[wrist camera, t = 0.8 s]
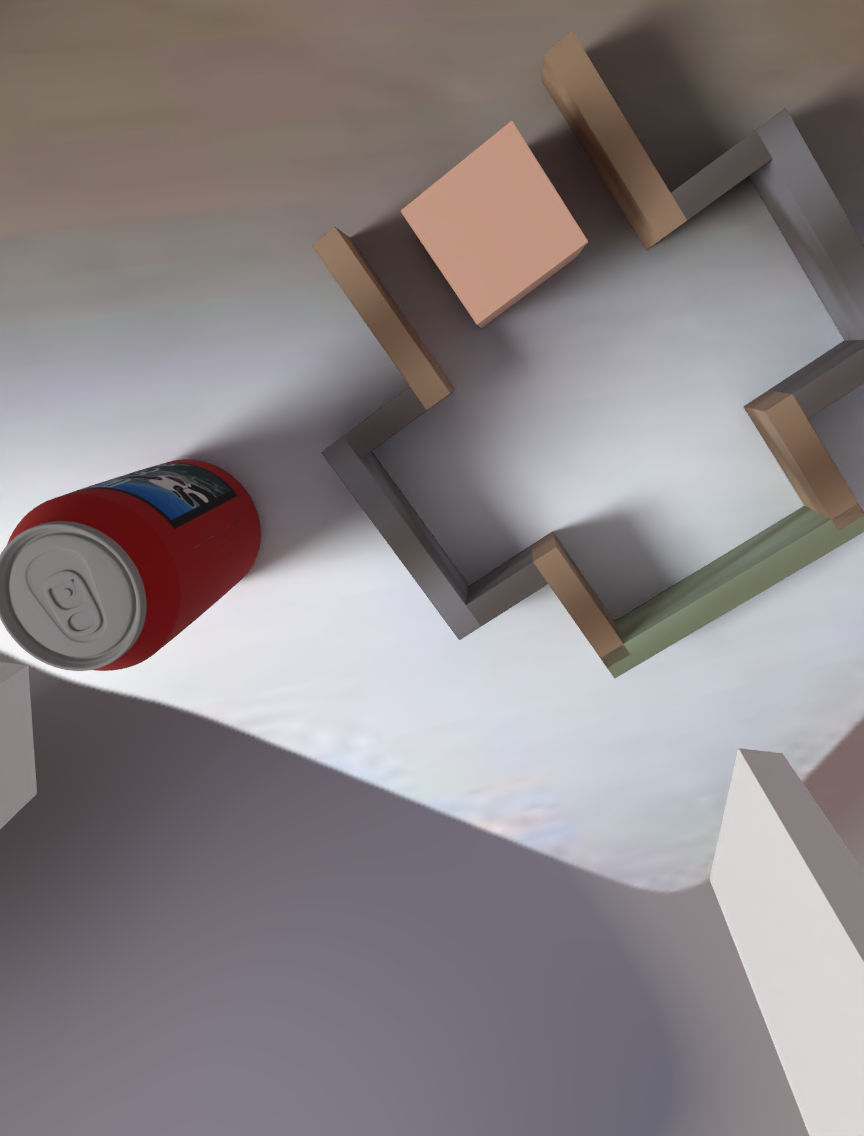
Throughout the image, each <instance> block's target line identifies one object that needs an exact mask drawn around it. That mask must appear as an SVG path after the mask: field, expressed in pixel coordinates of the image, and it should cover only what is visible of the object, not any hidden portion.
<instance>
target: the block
mask: <svg viewBox="0 0 864 1136" xmlns="http://www.w3.org/2000/svg"><path fill="white" fill-rule="evenodd" d="M401 213H402V214H403V216H404V217H405V219H406V220H407V222H408V223H409V225H410V226H411V228H412V229H413V231H414V232H415V234H416V235H417V236H418V238H419V239H420V241H421V242H422V244H423V245H424V247H425V248H426V250H427V251H428V253H429V254H430V256H431V257H432V259H433V260H434V262H435V263H436V265H437V266H438V268H439V269H440V271H441V272H442V274H443V275H444V277H445V278H446V280H447V281H448V283H449V284H450V286H451V287H452V288H453V290H454V291H455V293H456V294H457V296H458V297H459V299H460V300H461V302H462V303H463V305H464V306H465V308H466V309H467V311H468V312H469V314H470V315H471V317H472V318H473V320H474V321H475V323H476V324H477V325H478V326H479V327H480V328H483V327H484V326H485V325H487V324H488V323H489V322H491V321H492V320H493V319H495V318H496V317H497V316H499V315H500V314H501V313H503V312H504V311H505V310H507V309H508V308H509V307H511V306H512V305H513V304H515V303H516V302H517V301H519V300H520V299H521V298H523V297H524V296H525V295H527V294H528V293H530V292H531V291H532V290H534V289H535V288H536V287H538V286H539V285H540V284H542V283H543V282H544V281H546V280H547V279H548V278H550V277H551V276H552V275H554V274H555V273H556V272H558V271H559V270H560V269H562V268H563V267H564V266H566V265H567V264H568V263H570V262H571V261H572V260H574V259H575V258H577V256H578V255H579V254H580V252H581V251H582V249H583V248H584V247H585V245H586V244H587V242H588V240H587V239H586V237H585V236H584V234H583V232H582V231H581V229H580V228H579V226H578V225H577V223H576V221H575V220H574V218H573V217H572V215H571V213H570V212H569V210H568V209H567V207H566V206H565V204H564V202H563V201H562V199H561V198H560V196H559V194H558V193H557V191H556V190H555V188H554V187H553V185H552V183H551V182H550V180H549V179H548V177H547V176H546V174H545V172H544V171H543V169H542V168H541V166H540V164H539V163H538V161H537V160H536V158H535V157H534V155H533V153H532V152H531V150H530V149H529V147H528V145H527V144H526V142H525V141H524V139H523V138H522V136H521V134H520V133H519V131H518V130H517V128H516V126H515V125H514V123H513V122H512V121H511V122H509V123H508V124H507V125H506V126H505V127H503V128H502V129H501V130H500V131H498V132H497V133H496V134H495V135H493V136H492V137H491V138H490V139H488V140H487V141H486V142H485V143H484V144H482V145H481V146H480V147H479V148H477V149H476V150H475V151H474V152H472V153H471V154H470V155H469V156H468V157H466V158H465V159H464V160H463V161H461V162H460V163H459V164H458V165H456V166H455V167H454V168H453V169H452V170H450V171H449V172H448V173H447V174H445V175H444V176H443V177H442V178H440V179H439V180H438V181H437V182H435V183H434V184H433V185H432V186H431V187H429V188H428V189H427V190H426V191H424V192H423V193H422V194H421V195H419V196H418V197H417V198H416V199H415V200H413V201H412V202H411V203H410V204H408V205H407V206H406V207H405V208H403V209H402V210H401Z"/></svg>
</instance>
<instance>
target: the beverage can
mask: <svg viewBox="0 0 864 1136" xmlns="http://www.w3.org/2000/svg"><path fill="white" fill-rule="evenodd" d="M260 537H261V531H260V522H259V517H258V514H257V511H256V508H255V506H254V503H253V501H252V499H251V498H250V496H249V494H248V493H247V492H246V490H245V489H244V488H243V486H242V485H241V484H240V483H239V482H238V481H237V480H236V479H235V478H234V477H232V476H231V475H230V474H228V473H227V472H225V471H224V470H222V469H220V468H218V467H216V466H214V465H212V464H209V463H206V462H202V461H197V460H176V461H171V462H167V463H164V464H160V465H157V466H153V467H150V468H146V469H143V470H139V471H136V472H133V473H130V474H127V475H124V476H120V477H117V478H114V479H111V480H108V481H105V482H101V483H98V484H95V485H92V486H89V487H86V488H83V489H80V490H77V491H74V492H71V493H69V494H66V495H63V496H60V497H57V498H54V499H51V500H49V501H46V502H44V503H42V504H40V505H39V506H37V507H36V508H34V509H33V510H32V511H30V512H29V513H28V514H27V515H26V516H25V517H24V518H23V519H22V520H21V521H20V523H19V524H18V525H17V527H16V528H15V530H14V531H13V533H12V535H11V537H10V539H9V541H8V544H7V546H6V547H5V549H4V550H3V552H2V553H1V555H0V618H1V621H2V622H3V624H4V626H5V628H6V629H7V631H8V632H9V634H10V635H11V636H12V638H13V639H14V640H15V641H16V642H17V643H18V644H19V645H20V646H21V647H22V648H23V649H24V650H25V651H27V652H28V653H29V654H30V655H32V656H33V657H35V658H37V659H38V660H40V661H42V662H44V663H46V664H48V665H51V666H54V667H57V668H61V669H65V670H73V671H85V670H99V671H108V670H118V669H123V668H128V667H131V666H134V665H136V664H138V663H141V662H143V661H144V660H146V659H148V658H149V657H151V656H152V655H153V654H155V653H156V652H157V651H158V650H160V649H161V648H162V647H163V646H164V645H166V644H167V643H168V642H169V641H171V640H172V639H173V638H174V637H175V636H177V635H178V634H179V633H180V632H181V631H183V630H184V629H185V628H186V627H187V626H189V625H190V624H191V623H192V622H193V621H195V620H196V619H197V618H198V617H199V616H200V615H202V614H203V613H204V612H205V611H206V610H207V609H209V608H210V607H211V606H212V605H213V604H214V603H215V602H217V601H218V600H219V599H220V598H221V597H222V596H224V595H225V594H226V593H227V592H228V591H229V590H230V589H231V588H232V587H234V586H235V585H236V584H237V583H238V582H239V581H240V580H241V579H242V578H243V577H244V576H245V575H246V574H247V573H248V572H249V570H250V569H251V567H252V565H253V564H254V562H255V559H256V557H257V554H258V551H259V546H260Z"/></svg>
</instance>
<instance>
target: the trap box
mask: <svg viewBox="0 0 864 1136" xmlns="http://www.w3.org/2000/svg"><path fill="white" fill-rule="evenodd" d="M542 82H543V84H544V85H545V87H546V88H547V90H548V92H549V93H550V95H551V97H552V98H553V100H554V101H555V103H556V105H557V106H558V108H559V109H560V111H561V113H562V114H563V116H564V118H565V119H566V121H567V122H568V124H569V126H570V127H571V129H572V130H573V132H574V134H575V135H576V137H577V139H578V140H579V142H580V143H581V145H582V147H583V148H584V150H585V151H586V153H587V155H588V156H589V158H590V160H591V161H592V163H593V164H594V166H595V168H596V169H597V171H598V172H599V174H600V176H601V177H602V179H603V181H604V182H605V184H606V185H607V187H608V189H609V190H610V192H611V193H612V195H613V197H614V198H615V200H616V202H617V203H618V205H619V206H620V208H621V210H622V211H623V213H624V214H625V216H626V218H627V219H628V221H629V223H630V224H631V226H632V227H633V229H634V231H635V232H636V234H637V235H638V237H639V239H640V240H641V242H642V244H643V245H644V247H645V248H646V250H648V249H649V248H650V247H652V246H653V245H654V244H656V243H657V242H659V241H660V240H661V239H663V238H664V237H665V236H667V235H668V234H669V233H671V232H672V231H674V230H675V229H676V228H678V227H679V226H680V225H682V224H683V223H685V222H686V221H687V220H689V219H690V218H691V217H693V216H694V215H696V214H697V213H698V212H700V211H701V210H702V209H704V208H705V207H707V206H708V205H709V204H711V203H712V202H713V201H715V200H716V199H717V198H719V197H720V196H722V195H723V194H724V193H726V192H727V191H728V190H730V189H731V188H733V187H734V186H735V185H737V184H738V183H739V182H741V181H742V180H744V179H745V178H746V177H748V176H749V177H750V179H751V181H752V183H753V184H754V186H755V188H756V189H757V191H758V193H759V195H760V196H761V198H762V200H763V201H764V203H765V205H766V207H767V208H768V210H769V212H770V213H771V215H772V217H773V219H774V220H775V222H776V224H777V225H778V227H779V229H780V231H781V232H782V234H783V236H784V237H785V239H786V241H787V243H788V244H789V246H790V248H791V249H792V251H793V253H794V255H795V256H796V258H797V260H798V261H799V263H800V265H801V267H802V268H803V270H804V272H805V273H806V275H807V277H808V278H809V280H810V282H811V284H812V285H813V287H814V289H815V290H816V292H817V294H818V296H819V297H820V299H821V301H822V302H823V304H824V306H825V308H826V309H827V311H828V313H829V314H830V316H831V318H832V320H833V321H834V323H835V325H836V326H837V328H838V330H839V332H840V333H841V335H842V337H843V338H844V340H845V341H843V342H842V343H840V344H839V345H837V346H836V347H834V348H833V349H831V350H829V351H828V352H826V353H825V354H823V355H822V356H820V357H819V358H817V359H816V360H814V361H813V362H811V363H810V364H808V365H807V366H805V367H803V368H802V369H800V370H799V371H797V372H796V373H794V374H793V375H791V376H790V377H788V378H787V379H785V380H784V381H782V382H781V383H779V384H777V385H776V386H774V387H773V388H771V389H770V390H768V391H767V392H765V393H764V394H762V395H761V396H759V397H758V398H756V399H755V400H753V401H751V402H750V403H748V404H747V405H745V406H744V408H745V410H746V411H747V413H748V415H749V416H750V418H751V420H752V421H753V423H754V424H755V426H756V428H757V429H758V431H759V432H760V434H761V436H762V437H763V439H764V441H765V442H766V444H767V445H768V447H769V449H770V450H771V452H772V453H773V455H774V457H775V458H776V460H777V462H778V463H779V465H780V466H781V468H782V470H783V471H784V473H785V474H786V476H787V478H788V479H789V481H790V483H791V484H792V486H793V487H794V489H795V491H796V492H797V494H798V495H799V497H800V499H801V500H802V502H803V504H804V505H805V506H804V507H802V508H800V509H799V510H797V511H795V512H794V513H792V514H790V515H789V516H787V517H786V518H784V519H782V520H781V521H779V522H777V523H776V524H774V525H772V526H771V527H769V528H767V529H766V530H764V531H763V532H761V533H759V534H758V535H756V536H754V537H753V538H751V539H749V540H748V541H746V542H744V543H743V544H741V545H740V546H738V547H736V548H735V549H733V550H731V551H730V552H728V553H726V554H725V555H723V556H721V557H720V558H718V559H717V560H715V561H713V562H712V563H710V564H708V565H707V566H705V567H703V568H702V569H700V570H698V571H697V572H695V573H694V574H692V575H690V576H689V577H687V578H685V579H684V580H682V581H680V582H679V583H677V584H675V585H674V586H672V587H671V588H669V589H667V590H666V591H664V592H662V593H661V594H659V595H657V596H656V597H654V598H652V599H651V600H649V601H648V602H646V603H644V604H643V605H641V606H639V607H638V608H636V609H634V610H633V611H631V612H629V613H628V614H626V615H625V616H623V617H621V618H620V619H618V620H616V621H615V622H614V620H613V619H612V617H611V616H610V614H609V613H608V611H607V610H606V609H605V607H604V606H603V604H602V603H601V601H600V600H599V598H598V597H597V595H596V594H595V593H594V591H593V590H592V588H591V587H590V585H589V584H588V582H587V581H586V580H585V578H584V577H583V575H582V574H581V572H580V571H579V569H578V568H577V566H576V565H575V564H574V562H573V561H572V559H571V558H570V556H569V555H568V553H567V552H566V551H565V549H564V548H563V546H562V545H561V543H560V542H559V540H558V539H557V537H556V536H555V535H554V533H553V532H551V533H550V534H548V535H547V536H545V537H544V538H542V539H540V540H539V541H537V542H536V543H534V544H533V545H531V546H530V547H528V548H527V549H525V550H524V551H522V552H521V553H519V554H518V555H516V556H514V557H513V558H511V559H510V560H508V561H507V562H505V563H504V564H502V565H501V566H499V567H498V568H496V569H495V570H493V571H492V572H490V573H488V574H487V575H485V576H484V577H482V578H481V579H479V580H478V581H476V582H475V583H473V584H472V585H470V586H469V585H468V584H467V583H466V581H465V580H464V578H463V577H462V576H461V574H460V573H459V571H458V570H457V569H456V567H455V566H454V565H453V563H452V562H451V560H450V559H449V558H448V556H447V555H446V553H445V552H444V551H443V549H442V548H441V547H440V545H439V544H438V542H437V541H436V540H435V538H434V537H433V535H432V534H431V533H430V531H429V530H428V529H427V527H426V526H425V524H424V523H423V522H422V520H421V519H420V517H419V516H418V515H417V513H416V512H415V511H414V509H413V508H412V506H411V505H410V504H409V502H408V501H407V499H406V498H405V497H404V495H403V494H402V493H401V491H400V490H399V488H398V487H397V486H396V484H395V483H394V481H393V480H392V479H391V477H390V476H389V475H388V473H387V472H386V470H385V469H384V468H383V466H382V465H381V463H380V462H379V461H378V459H377V458H376V457H375V455H374V454H373V452H372V450H373V449H375V448H376V447H377V446H379V445H380V444H381V443H383V442H384V441H386V440H387V439H388V438H390V437H391V436H392V435H394V434H395V433H397V432H398V431H399V430H401V429H402V428H403V427H405V426H406V425H408V424H409V423H410V422H412V421H413V420H414V419H416V418H417V417H419V416H420V415H421V414H423V413H424V412H425V411H427V410H428V409H429V408H431V407H432V406H434V405H435V404H436V403H438V402H439V401H440V400H442V399H443V398H445V397H446V396H447V395H449V394H450V393H451V392H453V391H454V388H453V387H452V385H451V384H450V382H449V381H448V379H447V378H446V377H445V375H444V374H443V372H442V371H441V369H440V368H439V366H438V365H437V363H436V362H435V361H434V359H433V358H432V356H431V355H430V353H429V352H428V350H427V349H426V348H425V346H424V345H423V343H422V342H421V340H420V339H419V337H418V336H417V334H416V333H415V332H414V330H413V329H412V327H411V326H410V324H409V323H408V321H407V320H406V319H405V317H404V316H403V314H402V313H401V311H400V310H399V308H398V307H397V305H396V304H395V303H394V301H393V300H392V298H391V297H390V295H389V294H388V292H387V291H386V290H385V288H384V287H383V285H382V284H381V282H380V281H379V279H378V278H377V276H376V275H375V274H374V272H373V271H372V269H371V268H370V266H369V265H368V263H367V262H366V261H365V259H364V258H363V256H362V255H361V253H360V252H359V250H358V249H357V247H356V246H355V245H354V243H353V242H352V240H351V239H350V237H348V236H347V235H345V234H344V233H343V232H341V231H340V230H339V229H337V228H336V227H334V228H333V229H332V230H330V231H329V232H328V233H327V234H325V235H324V236H323V237H322V238H321V239H319V240H318V241H317V242H316V243H315V244H313V245H312V247H313V249H314V250H315V251H316V253H317V254H318V256H319V257H320V258H321V260H322V261H323V263H324V264H325V266H326V267H327V268H328V270H329V271H330V273H331V274H332V276H333V277H334V278H335V280H336V281H337V283H338V284H339V286H340V287H341V288H342V290H343V291H344V293H345V294H346V296H347V297H348V298H349V300H350V301H351V303H352V304H353V306H354V307H355V308H356V310H357V311H358V313H359V314H360V316H361V317H362V318H363V320H364V321H365V323H366V324H367V326H368V327H369V328H370V330H371V331H372V333H373V334H374V336H375V337H376V338H377V340H378V341H379V343H380V344H381V346H382V347H383V348H384V350H385V351H386V353H387V354H388V356H389V357H390V358H391V360H392V361H393V363H394V364H395V366H396V367H397V368H398V370H399V371H400V373H401V374H402V376H403V377H404V378H405V380H406V381H407V383H408V384H409V386H410V387H409V388H407V389H406V390H405V391H403V392H402V393H401V394H399V395H398V396H397V397H395V398H394V399H393V400H391V401H390V402H389V403H387V404H386V405H384V406H383V407H382V408H380V409H379V410H378V411H376V412H375V413H374V414H372V415H371V416H370V417H368V418H367V419H366V420H364V421H363V422H362V423H360V424H359V425H358V426H356V427H355V428H354V429H352V430H351V431H349V432H348V433H347V434H345V435H344V436H343V437H341V438H340V439H339V440H337V441H336V442H335V443H333V444H332V445H331V446H329V447H328V448H327V449H325V450H324V451H323V452H321V453H322V454H323V456H324V457H325V458H326V460H327V461H328V462H329V464H330V465H331V466H332V468H333V469H334V470H335V472H336V473H337V475H338V476H339V477H340V479H341V480H342V481H343V483H344V484H345V485H346V487H347V488H348V490H349V491H350V492H351V494H352V495H353V496H354V498H355V499H356V500H357V502H358V503H359V504H360V506H361V507H362V509H363V510H364V511H365V513H366V514H367V515H368V517H369V518H370V519H371V521H372V522H373V524H374V525H375V526H376V528H377V529H378V530H379V532H380V533H381V534H382V536H383V537H384V539H385V540H386V541H387V543H388V544H389V545H390V547H391V548H392V549H393V551H394V552H395V553H396V555H397V556H398V558H399V559H400V560H401V562H402V563H403V564H404V566H405V567H406V568H407V570H408V571H409V573H410V574H411V575H412V577H413V578H414V579H415V581H416V582H417V583H418V585H419V586H420V587H421V589H422V590H423V592H424V593H425V594H426V596H427V597H428V598H429V600H430V601H431V602H432V604H433V605H434V607H435V608H436V609H437V611H438V612H439V613H440V615H441V616H442V617H443V619H444V620H445V621H446V623H447V624H448V626H449V627H450V628H451V630H452V631H453V632H454V634H455V635H456V636H457V638H458V639H459V640H461V639H462V638H464V637H465V636H467V635H468V634H470V633H472V632H473V631H475V630H476V629H478V628H479V627H481V626H483V625H484V624H486V623H487V622H489V621H490V620H492V619H494V618H495V617H497V616H498V615H500V614H501V613H503V612H505V611H506V610H508V609H509V608H511V607H512V606H514V605H516V604H517V603H519V602H520V601H522V600H523V599H525V598H527V597H528V596H530V595H531V594H533V593H534V592H536V591H538V590H539V589H541V588H542V587H544V586H545V585H547V584H549V585H550V587H551V588H552V590H553V591H554V593H555V594H556V595H557V597H558V598H559V600H560V601H561V603H562V604H563V605H564V607H565V608H566V610H567V611H568V613H569V614H570V615H571V617H572V618H573V620H574V621H575V623H576V624H577V625H578V627H579V628H580V630H581V631H582V633H583V634H584V635H585V637H586V638H587V640H588V641H589V643H590V644H591V645H592V647H593V648H594V650H595V651H596V653H597V654H598V655H599V657H600V658H601V660H602V661H603V663H604V664H605V665H606V667H607V668H608V670H609V671H610V673H611V674H612V675H613V677H614V678H616V677H618V676H620V675H621V674H623V673H625V672H627V671H628V670H630V669H632V668H633V667H635V666H637V665H638V664H640V663H642V662H644V661H645V660H647V659H649V658H650V657H652V656H654V655H655V654H657V653H659V652H661V651H662V650H664V649H666V648H667V647H669V646H671V645H672V644H674V643H676V642H677V641H679V640H681V639H683V638H684V637H686V636H688V635H689V634H691V633H693V632H694V631H696V630H698V629H700V628H701V627H703V626H705V625H706V624H708V623H710V622H711V621H713V620H715V619H717V618H718V617H720V616H722V615H723V614H725V613H727V612H728V611H730V610H732V609H733V608H735V607H737V606H739V605H740V604H742V603H744V602H745V601H747V600H749V599H750V598H752V597H754V596H756V595H757V594H759V593H761V592H762V591H764V590H766V589H767V588H769V587H771V586H773V585H774V584H776V583H778V582H779V581H781V580H783V579H784V578H786V577H788V576H790V575H791V574H793V573H795V572H796V571H798V570H800V569H801V568H803V567H805V566H806V565H808V564H810V563H812V562H813V561H815V560H817V559H818V558H820V557H822V556H823V555H825V554H827V553H829V552H830V551H832V550H834V549H835V548H837V547H839V546H840V545H842V544H844V543H846V542H847V541H849V540H851V539H852V538H854V537H856V536H857V535H859V534H861V533H862V532H864V512H863V510H862V509H861V507H860V505H859V504H858V502H857V500H856V499H855V497H854V495H853V494H852V492H851V490H850V489H849V487H848V486H847V484H846V482H845V481H844V479H843V477H842V476H841V474H840V472H839V471H838V469H837V467H836V466H835V464H834V462H833V461H832V459H831V457H830V456H829V454H828V452H827V451H826V449H825V447H824V446H823V444H822V443H821V441H820V439H819V438H818V436H817V434H816V433H815V431H814V429H813V428H812V426H811V424H810V423H809V421H808V418H809V417H811V416H812V415H814V414H816V413H817V412H819V411H820V410H822V409H823V408H825V407H827V406H828V405H830V404H831V403H833V402H834V401H836V400H838V399H839V398H841V397H842V396H844V395H845V394H847V393H849V392H850V391H852V390H853V389H855V388H856V387H858V386H860V385H861V384H863V383H864V246H863V244H862V242H861V240H860V239H859V237H858V235H857V233H856V232H855V230H854V228H853V226H852V224H851V223H850V221H849V219H848V217H847V216H846V214H845V212H844V210H843V209H842V207H841V205H840V203H839V201H838V200H837V198H836V196H835V194H834V193H833V191H832V189H831V187H830V186H829V184H828V182H827V180H826V178H825V177H824V175H823V173H822V171H821V170H820V168H819V166H818V164H817V163H816V161H815V159H814V157H813V155H812V154H811V152H810V150H809V148H808V147H807V145H806V143H805V141H804V140H803V138H802V136H801V134H800V132H799V131H798V129H797V127H796V125H795V124H794V122H793V120H792V118H791V117H790V115H789V113H788V111H787V110H786V108H784V109H783V110H782V111H780V112H779V113H778V114H776V115H775V116H774V117H772V118H771V119H770V120H768V121H767V122H766V123H764V124H763V125H762V126H760V127H759V128H758V129H756V130H755V131H753V132H752V133H751V134H749V135H748V136H747V137H745V138H744V139H743V140H741V141H740V142H739V143H737V144H736V145H735V146H733V147H732V148H731V149H729V150H728V151H727V152H725V153H724V154H722V155H721V156H720V157H718V158H717V159H716V160H714V161H713V162H712V163H710V164H709V165H708V166H706V167H705V168H704V169H702V170H701V171H700V172H698V173H697V174H696V175H694V176H693V177H692V178H690V179H689V180H687V181H686V182H685V183H683V184H682V185H681V186H679V187H678V188H677V189H675V190H674V191H673V192H671V193H670V191H669V190H668V188H667V186H666V185H665V183H664V181H663V180H662V178H661V176H660V175H659V173H658V171H657V170H656V168H655V166H654V165H653V163H652V161H651V160H650V158H649V157H648V155H647V153H646V152H645V150H644V148H643V147H642V145H641V143H640V142H639V140H638V138H637V137H636V135H635V133H634V132H633V130H632V128H631V127H630V125H629V123H628V122H627V120H626V118H625V117H624V115H623V114H622V112H621V110H620V109H619V107H618V105H617V104H616V102H615V100H614V99H613V97H612V95H611V94H610V92H609V90H608V89H607V87H606V85H605V84H604V82H603V80H602V79H601V77H600V76H599V74H598V72H597V71H596V69H595V67H594V66H593V64H592V62H591V61H590V59H589V57H588V56H587V54H586V52H585V51H584V49H583V47H582V46H581V44H580V42H579V41H578V39H577V37H576V36H575V34H574V33H573V31H572V32H570V33H569V34H568V35H567V36H565V37H564V38H563V39H562V40H561V41H559V42H558V43H557V44H556V45H555V46H553V47H552V48H551V49H550V50H549V51H547V52H546V53H545V57H544V65H543V74H542Z"/></svg>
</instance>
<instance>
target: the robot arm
mask: <svg viewBox="0 0 864 1136" xmlns="http://www.w3.org/2000/svg"><path fill="white" fill-rule="evenodd" d="M36 794H37V789H36V775H35V761H34V746H33V731H32V717H31V702H30V688H29V673H28V665H20V664H11V663H3V662H0V829H1V828H2V827H3V826H4V825H5V824H6V823H7V822H8V821H9V820H10V819H11V818H12V817H13V816H14V815H15V814H16V813H17V812H18V811H19V810H20V809H21V808H22V807H23V806H24V805H26V804H27V803H28V802H29V801H30V800H31V799H32V798H33V797H34V796H35V795H36ZM710 881H711V884H712V886H713V889H714V891H715V894H716V896H717V899H718V901H719V904H720V907H721V909H722V912H723V915H724V917H725V920H726V922H727V925H728V927H729V930H730V933H731V935H732V938H733V940H734V943H735V945H736V948H737V951H738V953H739V956H740V958H741V961H742V963H743V966H744V969H745V971H746V974H747V976H748V979H749V981H750V984H751V987H752V989H753V991H754V994H755V997H756V999H757V1002H758V1004H759V1007H760V1010H761V1012H762V1015H763V1017H764V1020H765V1023H766V1025H767V1027H768V1030H769V1033H770V1035H771V1038H772V1040H773V1043H774V1046H775V1048H776V1051H777V1053H778V1056H779V1059H780V1061H781V1064H782V1066H783V1069H784V1071H785V1074H786V1077H787V1079H788V1081H789V1084H790V1087H791V1089H792V1092H793V1094H794V1097H795V1100H796V1102H797V1105H798V1107H799V1110H800V1112H801V1115H802V1117H803V1120H804V1123H805V1125H806V1128H807V1131H808V1133H809V1136H864V872H863V870H862V869H861V867H860V866H859V865H858V863H857V862H856V860H855V859H854V857H853V856H852V854H851V853H850V851H849V850H848V849H847V847H846V846H845V844H844V843H843V841H842V840H841V838H840V837H839V835H838V834H837V832H836V831H835V829H834V828H833V827H832V825H831V824H830V822H829V821H828V819H827V818H826V816H825V815H824V813H823V812H822V811H821V809H820V808H819V806H818V805H817V803H816V802H815V800H814V799H813V797H812V796H811V795H810V793H809V792H808V790H807V789H806V787H805V786H804V784H803V783H802V781H801V780H800V778H799V777H798V776H797V774H796V773H795V771H794V770H793V768H792V767H791V765H790V764H789V762H788V761H787V759H786V758H785V757H784V755H783V754H782V753H774V752H765V751H757V750H748V749H739V748H738V753H737V757H736V762H735V766H734V771H733V775H732V780H731V784H730V789H729V794H728V798H727V803H726V807H725V812H724V816H723V821H722V825H721V830H720V834H719V839H718V843H717V848H716V852H715V857H714V862H713V866H712V871H711V875H710Z"/></svg>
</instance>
